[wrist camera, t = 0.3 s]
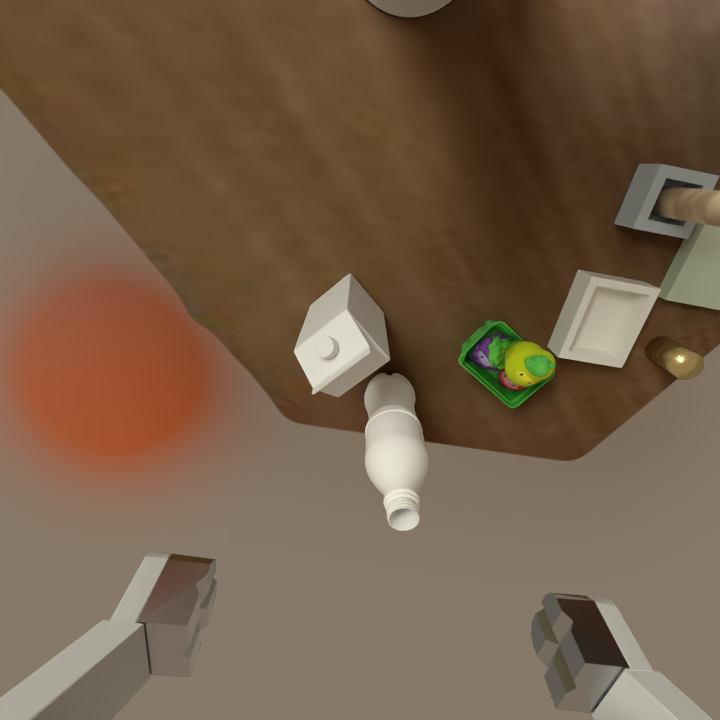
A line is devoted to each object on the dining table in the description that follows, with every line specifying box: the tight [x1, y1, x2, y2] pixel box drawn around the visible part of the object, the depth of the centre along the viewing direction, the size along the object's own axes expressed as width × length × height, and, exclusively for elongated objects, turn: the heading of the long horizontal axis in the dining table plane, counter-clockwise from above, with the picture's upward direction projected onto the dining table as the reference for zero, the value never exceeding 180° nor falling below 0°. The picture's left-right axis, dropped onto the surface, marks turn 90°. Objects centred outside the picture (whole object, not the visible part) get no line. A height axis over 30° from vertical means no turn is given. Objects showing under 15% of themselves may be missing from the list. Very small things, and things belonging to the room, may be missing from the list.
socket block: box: [614, 164, 719, 239], centre depth 48 cm, size 7×7×4 cm
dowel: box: [650, 186, 720, 226], centre depth 45 cm, size 3×3×10 cm
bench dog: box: [646, 336, 704, 380], centre depth 56 cm, size 4×4×6 cm
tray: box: [547, 270, 661, 368], centre depth 55 cm, size 11×9×4 cm
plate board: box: [658, 223, 720, 310], centre depth 52 cm, size 12×8×2 cm, turn 169°
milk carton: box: [294, 273, 390, 397], centre depth 48 cm, size 7×7×19 cm
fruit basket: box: [459, 320, 556, 408], centre depth 54 cm, size 11×9×11 cm
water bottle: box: [364, 373, 429, 531], centre depth 50 cm, size 7×7×25 cm
